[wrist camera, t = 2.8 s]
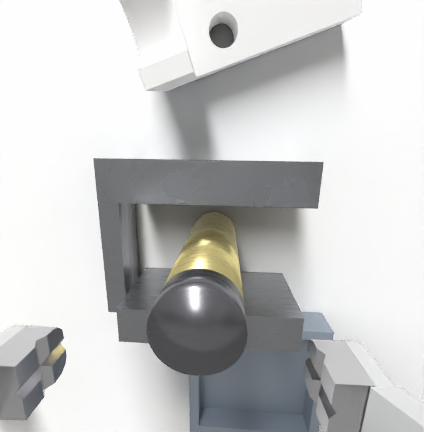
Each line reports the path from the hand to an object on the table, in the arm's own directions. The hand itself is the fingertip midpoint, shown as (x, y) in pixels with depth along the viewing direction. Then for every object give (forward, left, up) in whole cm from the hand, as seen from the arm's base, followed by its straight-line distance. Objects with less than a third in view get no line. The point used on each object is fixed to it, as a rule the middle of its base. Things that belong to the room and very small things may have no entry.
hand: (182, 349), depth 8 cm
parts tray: (-4, +13, -13) cm, 19 cm away
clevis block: (+1, 0, -13) cm, 13 cm away
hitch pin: (0, 0, -13) cm, 13 cm away
